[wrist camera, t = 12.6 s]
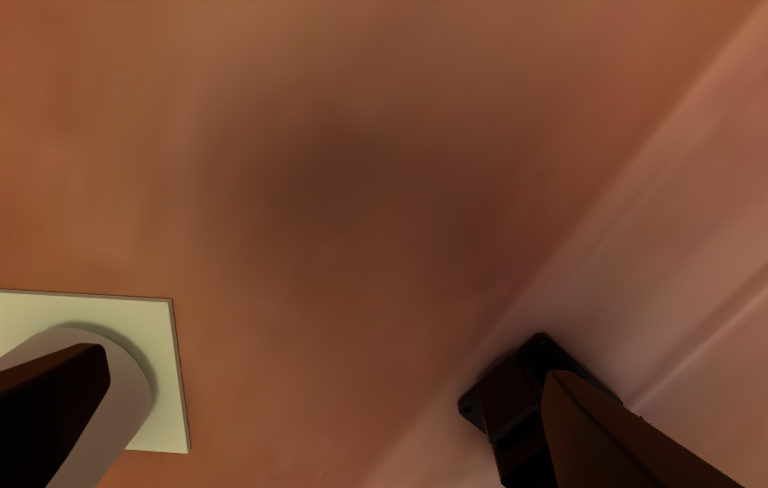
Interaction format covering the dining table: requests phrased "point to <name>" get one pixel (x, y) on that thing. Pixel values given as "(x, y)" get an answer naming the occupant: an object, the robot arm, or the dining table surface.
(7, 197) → the dining table surface
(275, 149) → the dining table surface
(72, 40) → the dining table surface
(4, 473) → the robot arm
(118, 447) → the can
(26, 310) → the mat
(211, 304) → the dining table surface
